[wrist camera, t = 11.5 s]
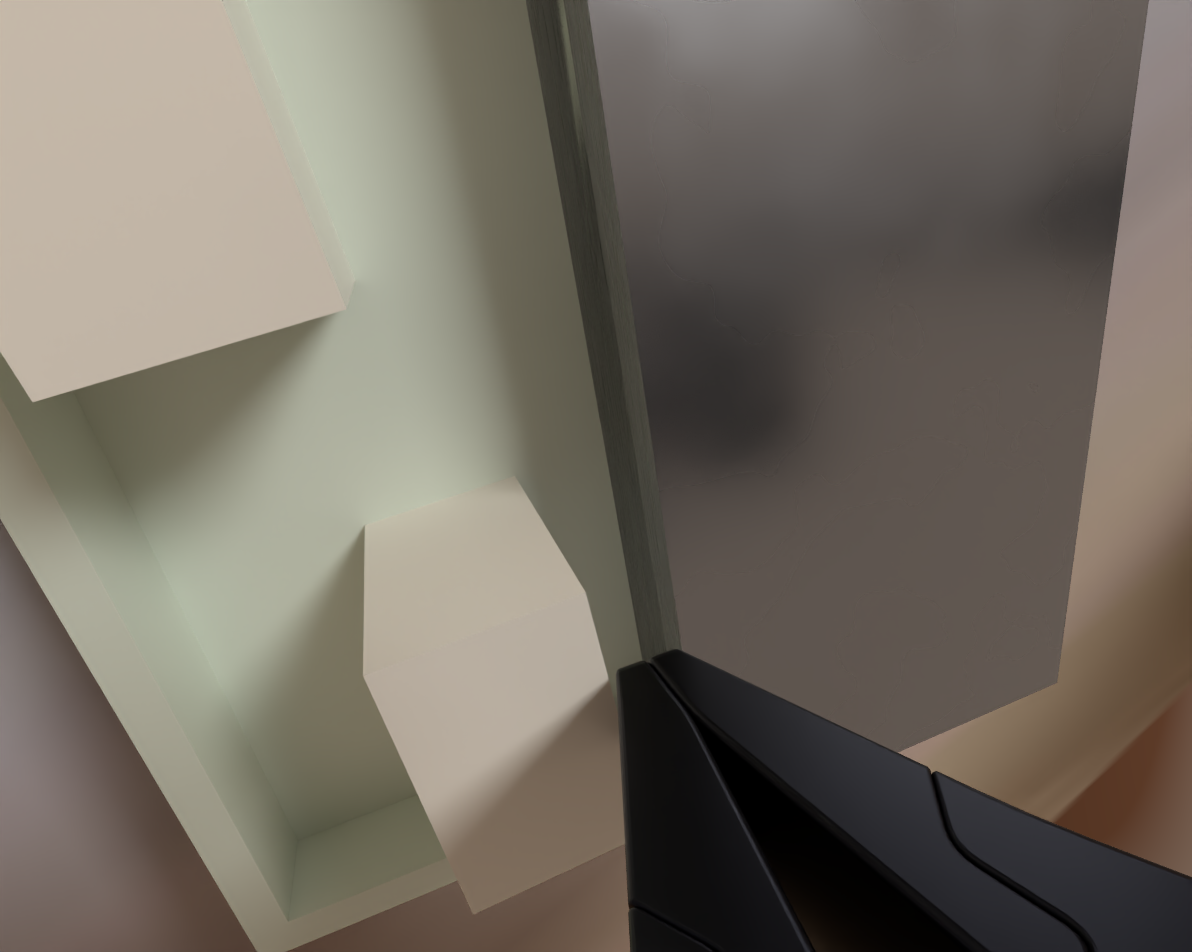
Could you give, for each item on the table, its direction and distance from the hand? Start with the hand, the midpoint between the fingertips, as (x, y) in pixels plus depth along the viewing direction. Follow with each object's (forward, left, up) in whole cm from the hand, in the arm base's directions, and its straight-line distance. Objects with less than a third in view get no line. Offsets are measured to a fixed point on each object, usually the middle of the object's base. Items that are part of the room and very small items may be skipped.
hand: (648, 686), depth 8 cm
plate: (-5, -4, -4) cm, 8 cm away
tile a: (+2, -7, -2) cm, 8 cm away
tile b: (+1, 0, -2) cm, 2 cm away
